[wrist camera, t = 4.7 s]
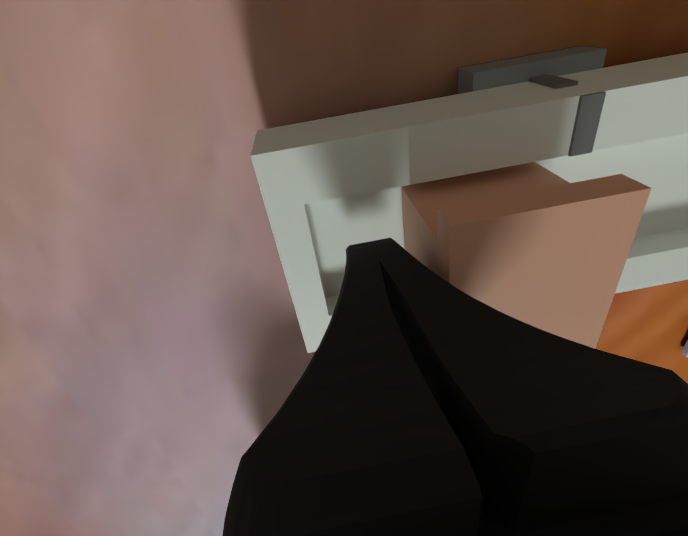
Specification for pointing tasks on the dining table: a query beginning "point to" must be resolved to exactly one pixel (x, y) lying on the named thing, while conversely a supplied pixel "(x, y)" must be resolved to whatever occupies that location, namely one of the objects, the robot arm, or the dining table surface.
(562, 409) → the robot arm
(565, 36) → the dining table surface
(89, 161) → the dining table surface
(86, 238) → the dining table surface
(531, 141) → the beam
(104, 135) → the dining table surface
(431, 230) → the rider
